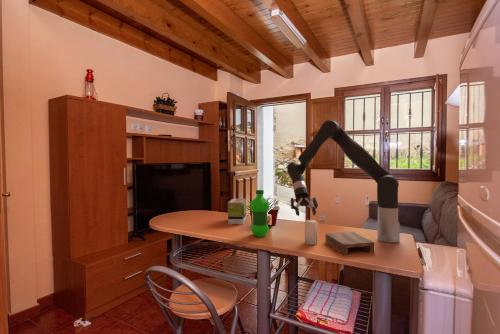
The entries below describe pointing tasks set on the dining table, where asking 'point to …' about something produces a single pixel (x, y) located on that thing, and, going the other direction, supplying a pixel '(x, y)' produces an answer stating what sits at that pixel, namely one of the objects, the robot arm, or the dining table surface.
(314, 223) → the beige upright block
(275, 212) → the plastic cup
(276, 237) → the dining table surface
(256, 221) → the plastic bottle
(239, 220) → the tea box
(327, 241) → the shelf
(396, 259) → the dining table surface
